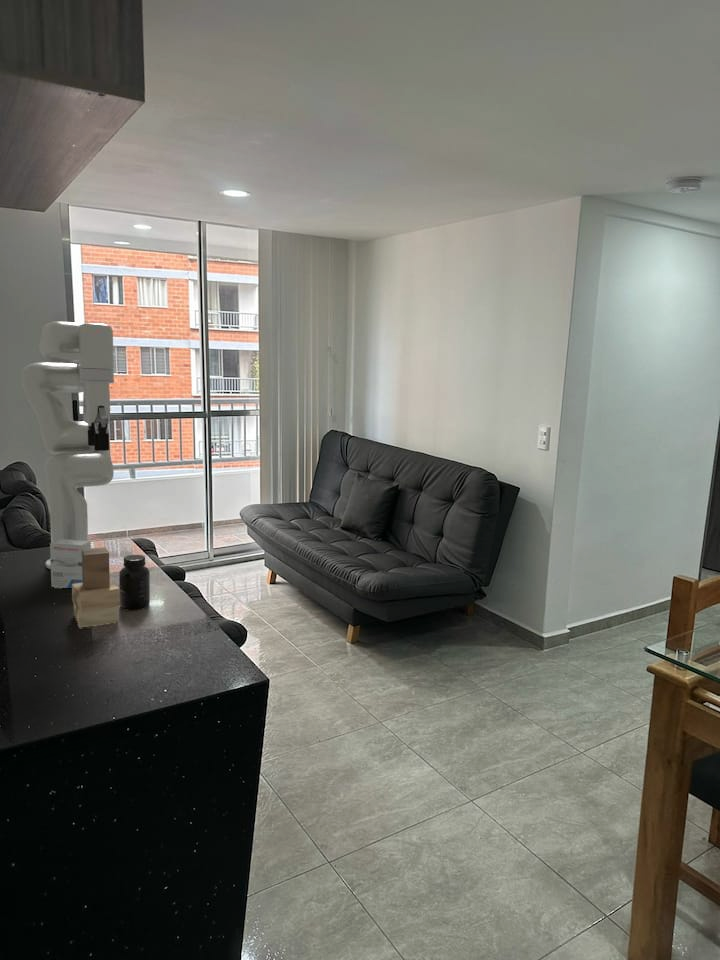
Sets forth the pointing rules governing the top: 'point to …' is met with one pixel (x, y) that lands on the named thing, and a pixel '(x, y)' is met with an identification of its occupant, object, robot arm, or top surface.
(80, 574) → the ink box
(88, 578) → the walnut block
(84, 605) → the upper maple slab
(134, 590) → the supplement bottle
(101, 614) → the lower maple slab
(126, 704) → the top surface
